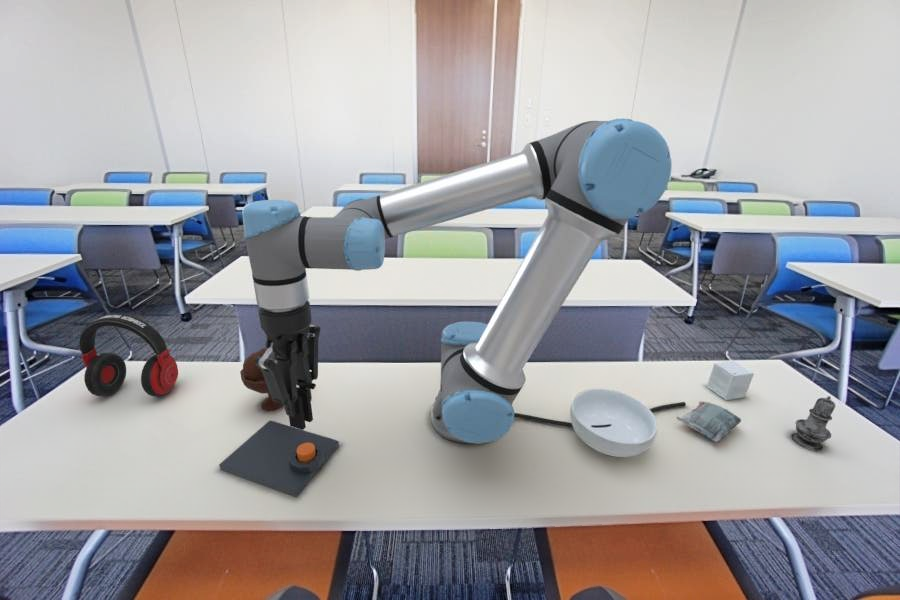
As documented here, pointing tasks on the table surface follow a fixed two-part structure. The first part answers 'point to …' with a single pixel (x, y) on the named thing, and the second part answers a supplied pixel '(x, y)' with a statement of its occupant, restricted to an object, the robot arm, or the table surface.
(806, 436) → the grey chess piece
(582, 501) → the table surface
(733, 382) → the product box
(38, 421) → the table surface
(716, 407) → the packaged food
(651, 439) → the cereal bowl
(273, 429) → the scale
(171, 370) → the headphones
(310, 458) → the button
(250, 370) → the ice cream bowl
